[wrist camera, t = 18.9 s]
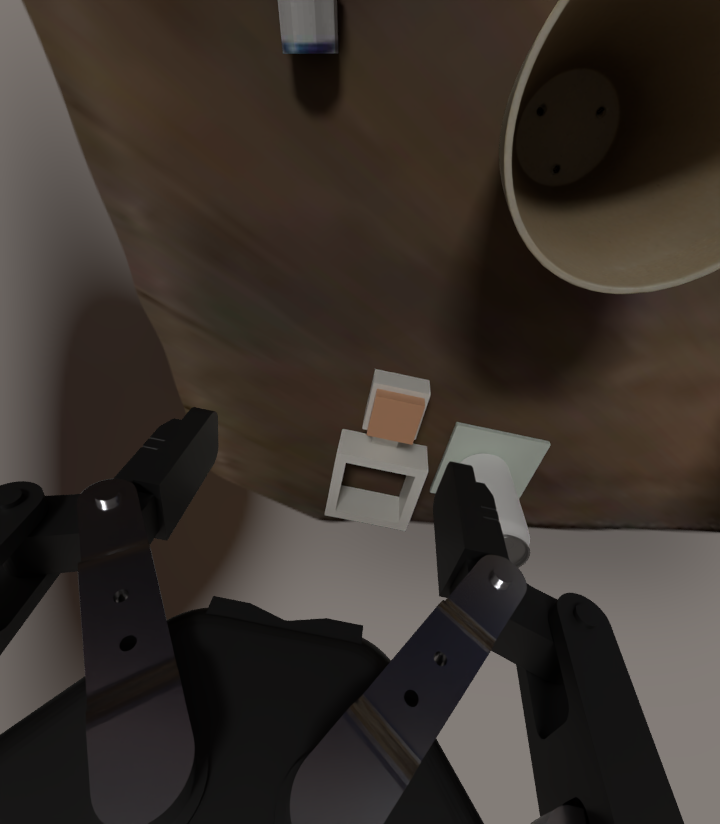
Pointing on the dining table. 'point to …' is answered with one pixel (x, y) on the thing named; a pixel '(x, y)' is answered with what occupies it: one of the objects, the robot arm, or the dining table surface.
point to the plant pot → (618, 144)
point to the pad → (494, 452)
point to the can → (503, 503)
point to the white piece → (380, 464)
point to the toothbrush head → (308, 26)
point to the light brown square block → (395, 416)
